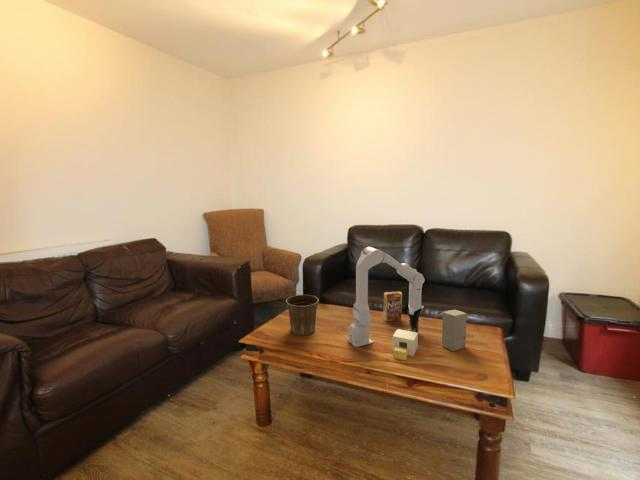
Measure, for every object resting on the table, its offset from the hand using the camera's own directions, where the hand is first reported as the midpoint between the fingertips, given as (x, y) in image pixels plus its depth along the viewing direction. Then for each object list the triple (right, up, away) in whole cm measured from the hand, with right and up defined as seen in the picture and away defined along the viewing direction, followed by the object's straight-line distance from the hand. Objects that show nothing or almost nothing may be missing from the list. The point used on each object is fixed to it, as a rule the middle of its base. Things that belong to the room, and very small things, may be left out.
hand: (414, 323), depth 154 cm
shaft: (-4, -5, -7) cm, 10 cm away
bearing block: (-8, -8, -14) cm, 18 cm away
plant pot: (-54, -6, +7) cm, 55 cm away
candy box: (-7, -3, +18) cm, 19 cm away
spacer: (-11, -7, -19) cm, 23 cm away
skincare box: (+14, -7, -12) cm, 20 cm away
